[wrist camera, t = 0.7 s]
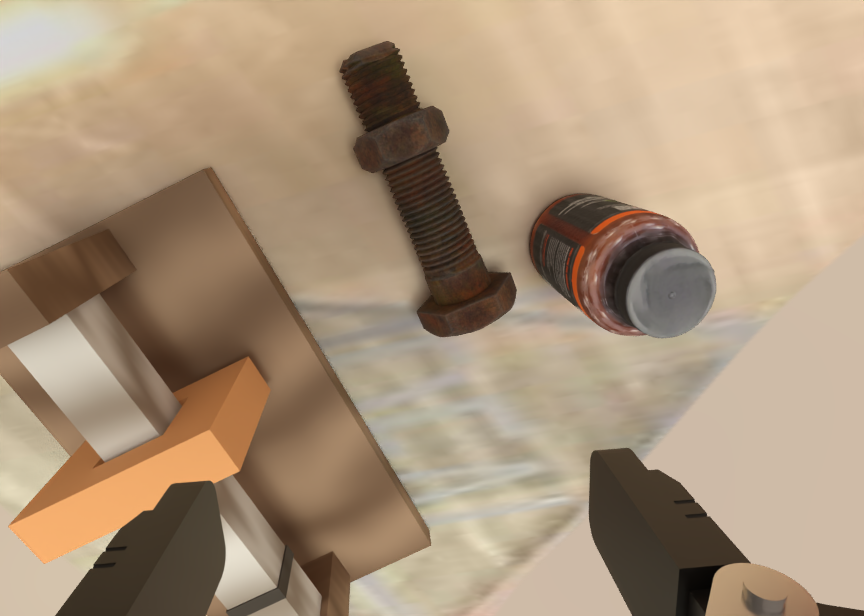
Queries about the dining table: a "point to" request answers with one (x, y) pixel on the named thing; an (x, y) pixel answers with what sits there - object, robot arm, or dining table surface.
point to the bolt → (423, 193)
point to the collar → (147, 465)
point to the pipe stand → (196, 359)
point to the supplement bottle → (623, 266)
